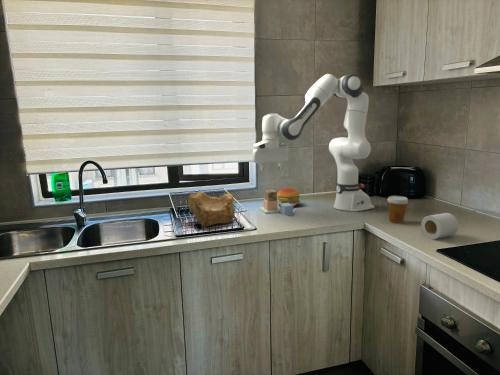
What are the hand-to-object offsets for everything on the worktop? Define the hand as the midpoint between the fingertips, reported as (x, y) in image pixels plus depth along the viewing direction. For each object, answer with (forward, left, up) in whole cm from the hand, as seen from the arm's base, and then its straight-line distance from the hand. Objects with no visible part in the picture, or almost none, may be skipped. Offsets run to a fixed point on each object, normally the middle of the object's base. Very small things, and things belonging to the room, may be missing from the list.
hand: (270, 170), depth 198 cm
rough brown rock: (+36, +11, -23) cm, 44 cm away
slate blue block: (-6, +8, -23) cm, 25 cm away
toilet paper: (-52, +65, -23) cm, 86 cm away
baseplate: (0, 0, -23) cm, 23 cm away
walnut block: (0, 0, -17) cm, 17 cm away
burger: (-14, -7, -23) cm, 28 cm away
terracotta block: (0, 0, -22) cm, 22 cm away
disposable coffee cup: (-50, +41, -23) cm, 68 cm away
